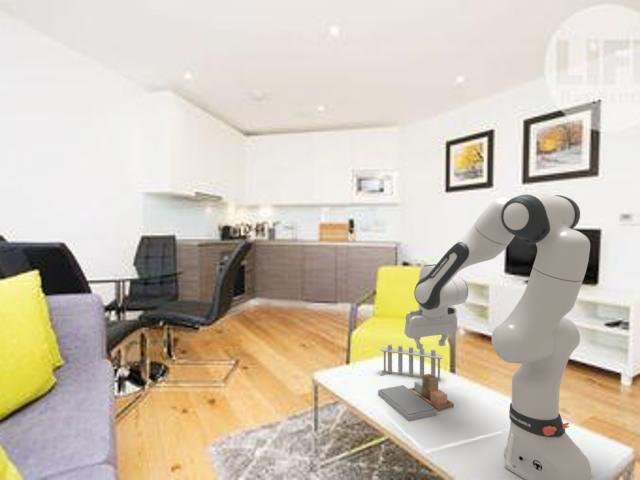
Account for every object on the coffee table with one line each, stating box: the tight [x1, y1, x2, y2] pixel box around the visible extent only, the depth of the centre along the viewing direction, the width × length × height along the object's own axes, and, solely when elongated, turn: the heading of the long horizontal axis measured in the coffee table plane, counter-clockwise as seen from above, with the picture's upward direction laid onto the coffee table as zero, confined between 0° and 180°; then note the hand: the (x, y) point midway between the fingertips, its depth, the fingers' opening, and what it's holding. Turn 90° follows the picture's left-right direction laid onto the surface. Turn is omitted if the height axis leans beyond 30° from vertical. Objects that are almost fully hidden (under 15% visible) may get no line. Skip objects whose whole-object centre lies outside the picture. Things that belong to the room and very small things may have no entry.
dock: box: [377, 384, 438, 422], centre depth 132 cm, size 20×11×3 cm, turn 20°
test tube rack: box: [379, 343, 444, 382], centre depth 156 cm, size 25×4×13 cm, turn 66°
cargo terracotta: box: [430, 389, 448, 406], centre depth 131 cm, size 4×4×4 cm
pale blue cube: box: [414, 379, 422, 396], centre depth 140 cm, size 4×4×4 cm
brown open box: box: [408, 373, 455, 413], centre depth 136 cm, size 16×7×10 cm, turn 23°
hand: (430, 347), depth 135 cm, fingers open, 8 cm apart
